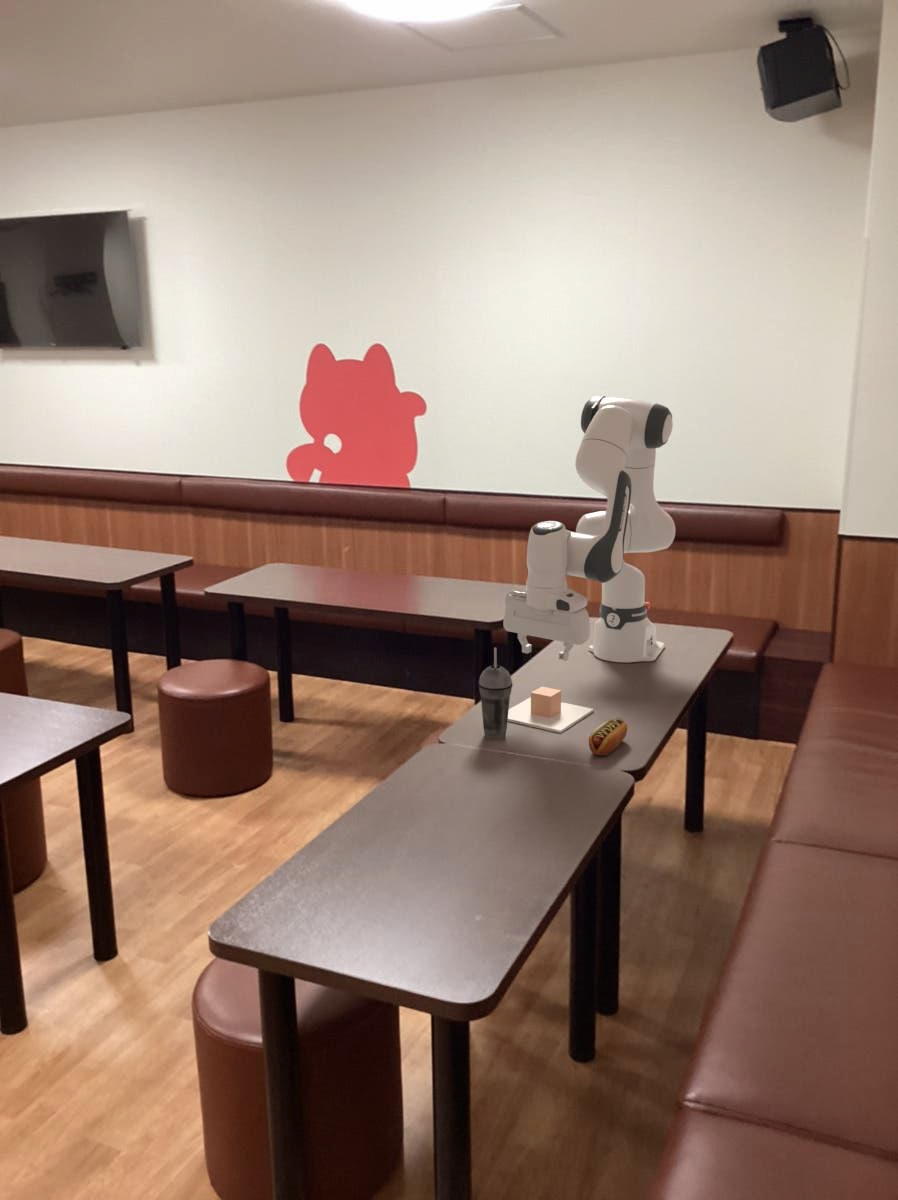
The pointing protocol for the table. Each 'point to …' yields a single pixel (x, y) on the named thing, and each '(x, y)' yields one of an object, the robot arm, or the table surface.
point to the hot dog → (607, 737)
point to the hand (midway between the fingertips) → (545, 656)
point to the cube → (546, 702)
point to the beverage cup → (495, 699)
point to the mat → (556, 723)
